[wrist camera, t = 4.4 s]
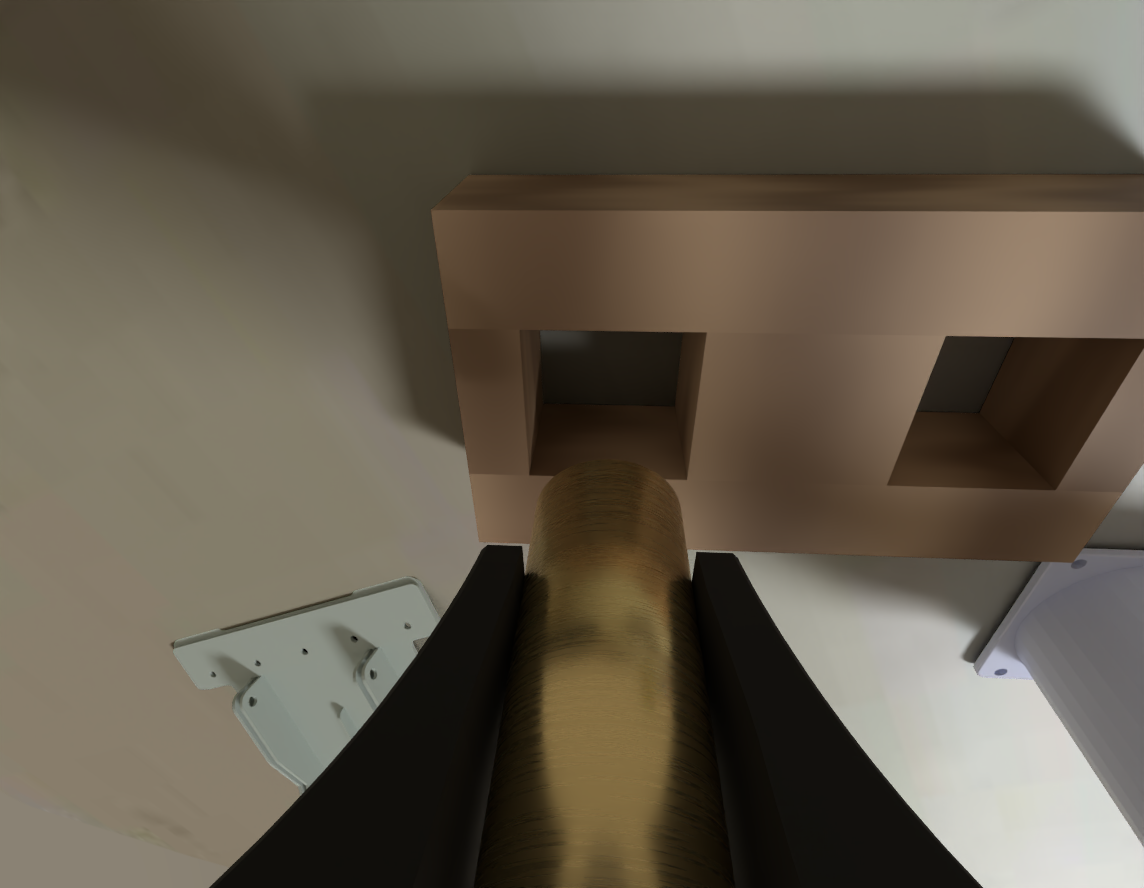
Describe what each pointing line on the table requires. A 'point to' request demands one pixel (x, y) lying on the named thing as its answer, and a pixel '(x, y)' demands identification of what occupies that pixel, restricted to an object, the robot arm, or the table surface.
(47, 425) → the table surface
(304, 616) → the metal bracket
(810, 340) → the hole block
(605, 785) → the brass peg
